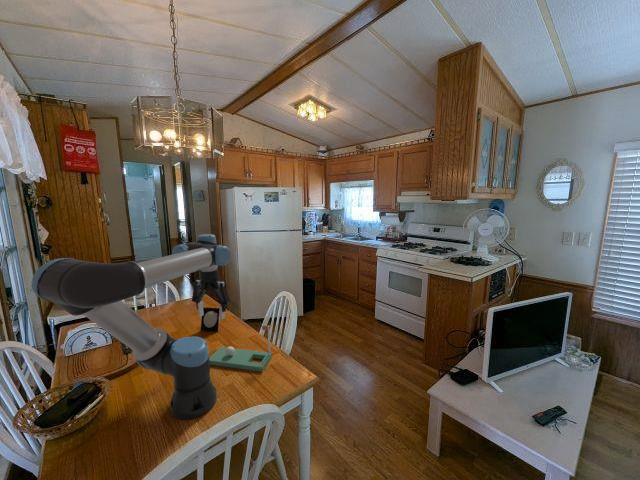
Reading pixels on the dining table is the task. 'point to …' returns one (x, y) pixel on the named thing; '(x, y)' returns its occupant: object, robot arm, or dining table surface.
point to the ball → (230, 351)
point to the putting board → (242, 357)
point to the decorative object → (210, 319)
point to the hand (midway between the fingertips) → (211, 317)
